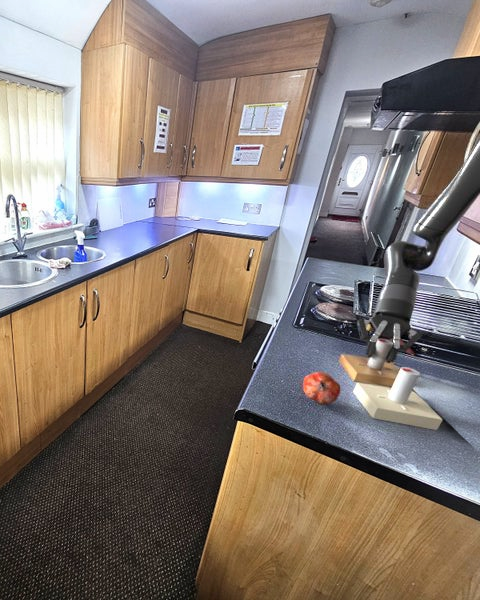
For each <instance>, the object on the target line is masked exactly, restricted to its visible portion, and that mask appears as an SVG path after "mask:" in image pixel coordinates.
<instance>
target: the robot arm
mask: <svg viewBox="0 0 480 600" xmlns="http://www.w3.org/2000/svg"><path fill="white" fill-rule="evenodd" d="M479 196H480V133H479V134H478V135H477V137H476V139H475V142H474V145H473V147H472V149H471V150H470V152H469V154H468V157H467V158H466V159H465V161H464V162H463V164H462V165H461V168H460V169H459V170H458V172H457V174H455V176H454V178H453V179H452V180H451V181H450V182H449V184H447V186H446V187H445V188H444V189H443V191H442V192H441V193H440V194H439V195H438V196H437V198H436V199H435V200H434V201H433V202H432V203H431V204H430V206H429V207H428V208H427V209H426V211H425V212H424V213H423V214H422V216H421V217H420V218H419V219H418V221H417V222H416V223H415V224H414V226H413V227H412V229H411V232H412V234H413V235H414V236H416V237H418V238H419V239H422V240H424V241H425V243H424V245H420V244H416V243H413V242H409V241H404V240H398V241H394V242H393V243H391V244H389V245H388V246H387V248H386V250H385V252H384V254H383V265H384V272H385V279H384V282H383V285H382V288H381V290H380V292H379V294H378V298H377V300H376V304H375V308H374V310H373V315H372V316H371V317H370V318H368V319H369V320H366V319H364V318H362V317H360V318H358V319H357V321H356V327H357V330H358V335H359V339H360V341H362V342H365V343H366V344H367V345H366V350H365V352H364V353H365V355H366V356H367V357H366V358H371V357H372V355H373V352H374V349H375V345H376V342H377V340H378V339H379V337H384V338H387V339H389V338H390V339H389V341H391V342H393V346H392V348H391V350H390V353H389V355H388V357H387V359H386V362H387V363H391V362H392V363H394V362H395V361H396V359H397V356H398V352H402V353H407V352H406V351H407V350H408V349H409V348H411V347H413V346H414V345H415V344H416V342H418V341H419V340H420V339H421V338H422V337H423V336H424V333H423V332H421V331H416V330H414V329H412V327H411V324H410V323H411V320H412V317H413V316H412V315H413V312H414V309H415V305H416V301H417V292H418V289H419V285H420V282H421V276H420V274H419V273H418V272H423V271H425V270H427V269H429V268H430V267H431V266H432V265H433V264H434V262H435V260H436V258H437V255H438V253H439V250H440V248H441V246H442V244H443V242H444V240H445V238H447V236H448V235H449V233H450V232H451V231H452V230H453V229H454V227H455V226H456V225H457V224H458V223H459V222H460V221H461V219H462V218H463V217H464V216H465V215H466V214H467V212H468V211H469V209H470V208H471V207H472V205H473V204H474V203H475V202H476V200H477V199H478V198H479ZM368 324H370V326H371V327H372V329H373V330H374V331H373V334H372V335H371V337H370V336H369V334H368V330H367V329H366V327H367V326H368ZM406 334H408V336H407V337H408V339H409V340H408V341H407V342H405V344H404V345H400V339H401V337H402V336H404V335H406Z"/></svg>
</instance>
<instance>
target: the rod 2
mask: <svg viewBox="0 0 480 600" xmlns="http://www.w3.org/2000/svg"><path fill="white" fill-rule="evenodd" d="M399 370H400V371H399V373H398V376H397V378H396V380H395V382H394V384H393V386H392V387H390V388H391V391H390V393H389V395H388V398H389V399H390V400H392V401H394V402H396V403H400V404H405V403H406V402H407V400H408V398H409V396H410V394H411V392H413V389H414V387H415V386H416V383H417V381H418V379H419V378H420V376H421V373H420V372H419V371H418V370H416V369H414V368H411V367H408V366H407V367H406V366H402V367H401V368H399Z"/></svg>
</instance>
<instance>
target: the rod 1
mask: <svg viewBox="0 0 480 600" xmlns="http://www.w3.org/2000/svg"><path fill="white" fill-rule="evenodd" d="M375 343H376V345H375V349H374V352H373V355H372V357H371V358H370V359H369V361H368V363H367V365H368V366H369V367H371V368H373V369H376V370H382V368H383V366H384V364H385V362H386V361H387V357H388V355H389V353H390V350H391V348H392V346H393V342H391V341H390V339H386V338H381V337H380V338H378V339H377V340H376V342H375Z"/></svg>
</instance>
